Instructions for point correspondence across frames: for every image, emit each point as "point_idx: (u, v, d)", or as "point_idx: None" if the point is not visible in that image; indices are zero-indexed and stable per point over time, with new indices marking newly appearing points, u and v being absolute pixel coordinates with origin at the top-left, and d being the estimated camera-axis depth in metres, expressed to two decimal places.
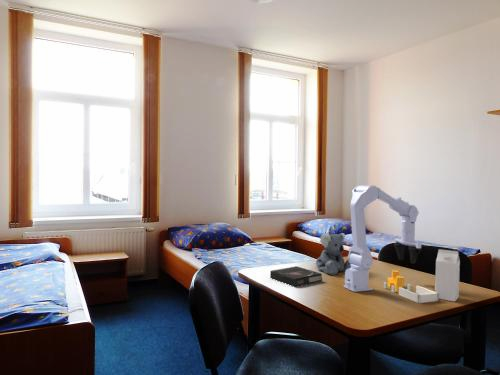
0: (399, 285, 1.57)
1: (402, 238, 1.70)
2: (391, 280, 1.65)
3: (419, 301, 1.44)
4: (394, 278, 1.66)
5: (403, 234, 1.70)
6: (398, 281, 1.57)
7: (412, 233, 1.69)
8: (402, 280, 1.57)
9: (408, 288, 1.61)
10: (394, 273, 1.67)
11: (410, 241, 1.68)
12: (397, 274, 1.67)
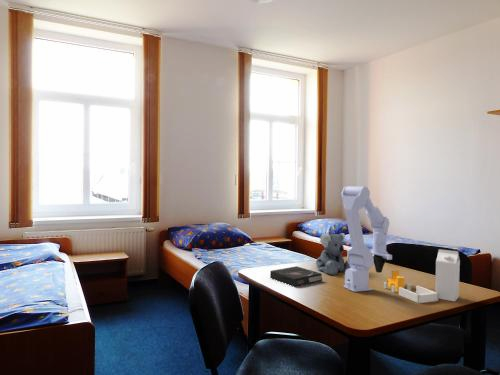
0: (400, 285, 1.57)
1: (374, 249, 1.72)
2: (391, 280, 1.65)
3: (419, 301, 1.44)
4: (394, 278, 1.66)
5: (375, 245, 1.71)
6: (399, 281, 1.57)
7: (383, 244, 1.70)
8: (403, 280, 1.57)
9: (408, 288, 1.61)
10: (394, 273, 1.67)
11: (381, 252, 1.70)
12: (397, 274, 1.67)
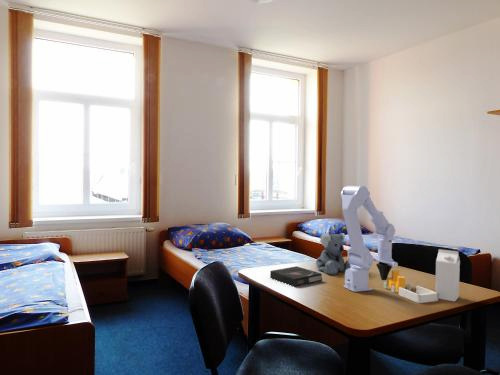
0: (401, 285, 1.57)
1: (379, 256, 1.69)
2: (391, 280, 1.65)
3: (419, 301, 1.44)
4: (394, 278, 1.66)
5: (380, 252, 1.68)
6: (400, 281, 1.57)
7: (389, 252, 1.67)
8: (404, 280, 1.57)
9: (408, 288, 1.61)
10: (394, 273, 1.67)
11: (387, 260, 1.67)
12: (397, 274, 1.66)
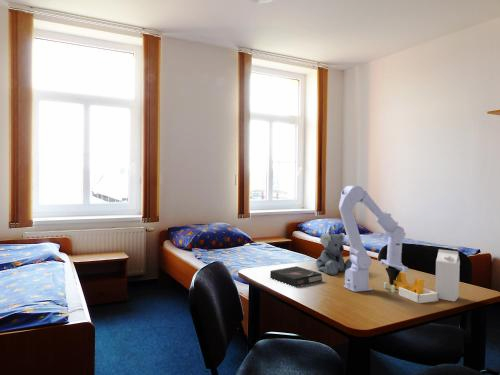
0: (420, 288, 1.53)
1: (388, 260, 1.62)
2: (402, 283, 1.60)
3: (419, 301, 1.44)
4: (403, 280, 1.61)
5: (389, 256, 1.62)
6: (419, 283, 1.53)
7: (399, 255, 1.60)
8: (423, 282, 1.53)
9: None
10: (402, 275, 1.62)
11: (396, 264, 1.60)
12: (404, 276, 1.62)
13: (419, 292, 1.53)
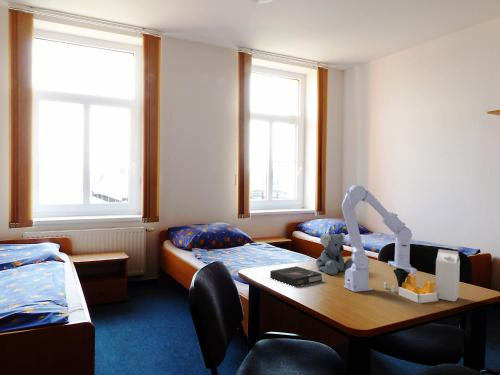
0: (430, 291, 1.48)
1: (396, 262, 1.58)
2: (411, 285, 1.55)
3: (419, 301, 1.44)
4: (412, 283, 1.56)
5: (397, 258, 1.58)
6: (430, 287, 1.48)
7: (407, 257, 1.56)
8: (433, 286, 1.49)
9: None
10: (412, 278, 1.58)
11: (404, 265, 1.56)
12: (414, 279, 1.58)
13: None
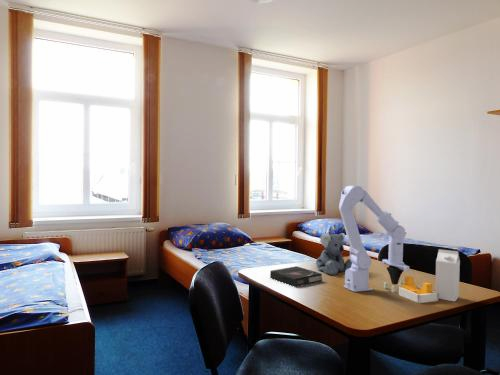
0: (428, 292, 1.48)
1: (390, 260, 1.62)
2: (410, 287, 1.55)
3: (419, 301, 1.44)
4: (411, 285, 1.56)
5: (391, 256, 1.62)
6: (428, 288, 1.48)
7: (400, 255, 1.60)
8: (431, 287, 1.48)
9: None
10: (409, 279, 1.57)
11: (398, 263, 1.60)
12: (412, 280, 1.57)
13: None
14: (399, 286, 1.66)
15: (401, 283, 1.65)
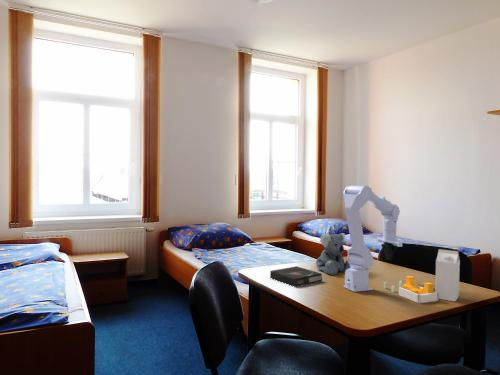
0: (430, 292, 1.48)
1: (384, 237, 1.73)
2: (411, 287, 1.55)
3: (419, 301, 1.44)
4: (412, 284, 1.56)
5: (385, 233, 1.73)
6: (429, 288, 1.48)
7: (394, 232, 1.71)
8: (432, 286, 1.48)
9: None
10: (410, 279, 1.57)
11: (392, 240, 1.71)
12: (413, 280, 1.58)
13: None
14: (399, 286, 1.66)
15: (401, 283, 1.65)
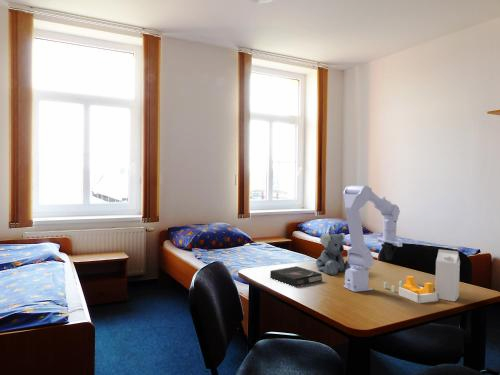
0: (430, 292, 1.48)
1: (384, 237, 1.73)
2: (411, 287, 1.55)
3: (419, 301, 1.44)
4: (412, 284, 1.56)
5: (385, 233, 1.73)
6: (429, 288, 1.48)
7: (394, 232, 1.71)
8: (432, 286, 1.48)
9: None
10: (411, 279, 1.57)
11: (392, 240, 1.71)
12: (413, 280, 1.58)
13: None
14: (399, 286, 1.66)
15: (401, 283, 1.65)
